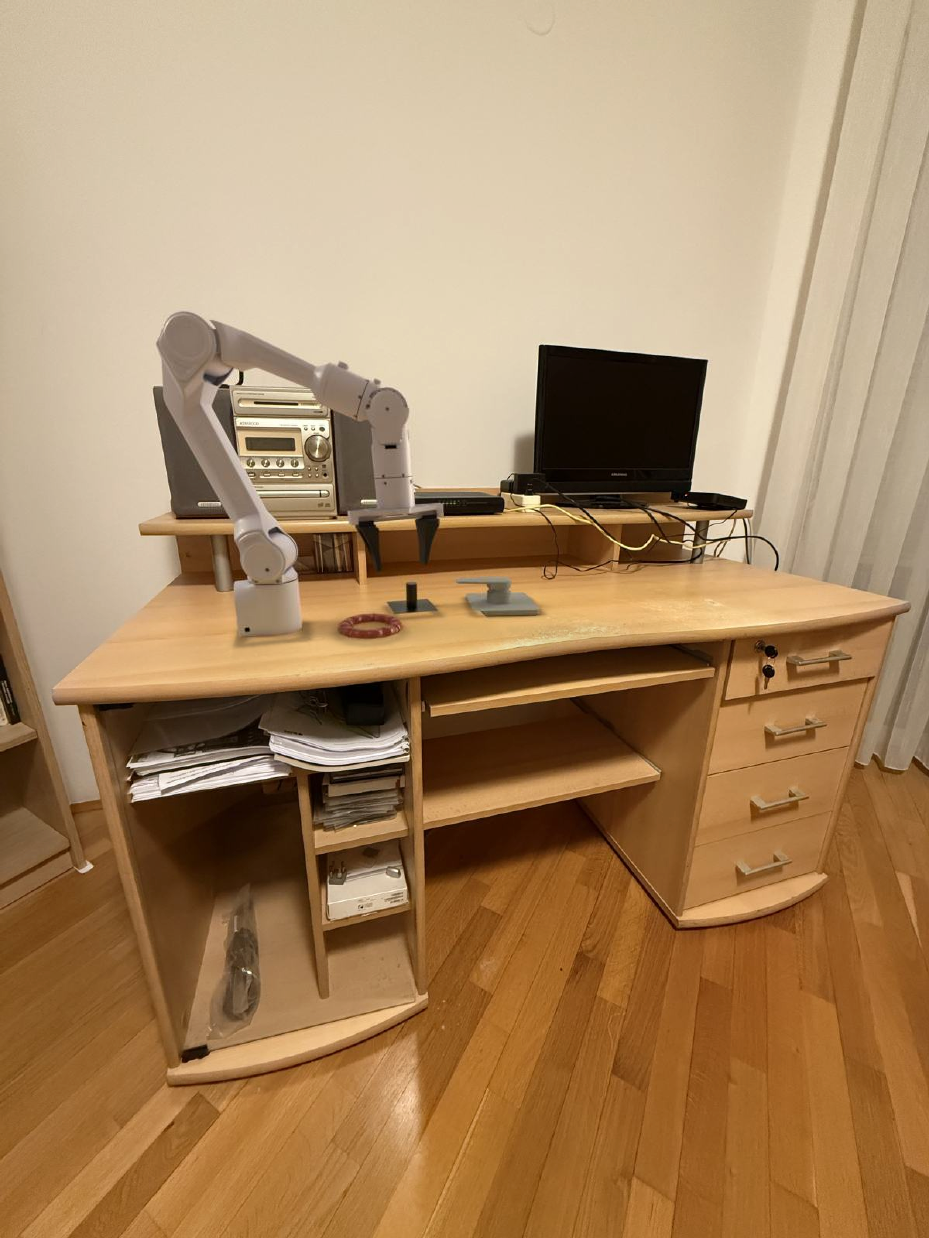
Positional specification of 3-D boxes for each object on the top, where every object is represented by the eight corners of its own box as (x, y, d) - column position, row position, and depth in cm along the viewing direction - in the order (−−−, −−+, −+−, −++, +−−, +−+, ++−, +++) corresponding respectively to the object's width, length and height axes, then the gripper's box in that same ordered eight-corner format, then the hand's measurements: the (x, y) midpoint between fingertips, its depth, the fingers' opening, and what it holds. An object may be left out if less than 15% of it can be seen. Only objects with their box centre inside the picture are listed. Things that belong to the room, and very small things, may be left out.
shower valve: (452, 571, 98) (525, 570, 100) (452, 597, 100) (524, 596, 101) (459, 587, 86) (542, 585, 88) (459, 616, 88) (540, 614, 90)
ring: (342, 647, 73) (341, 634, 72) (336, 626, 82) (335, 614, 81) (408, 640, 76) (408, 628, 75) (395, 621, 85) (395, 610, 84)
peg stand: (394, 619, 86) (393, 590, 84) (386, 606, 93) (385, 579, 91) (438, 615, 88) (438, 587, 87) (427, 603, 95) (427, 577, 94)
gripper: (351, 481, 67) (362, 578, 71) (448, 474, 72) (453, 565, 76) (340, 479, 73) (351, 569, 77) (431, 474, 78) (437, 557, 83)
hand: (401, 566), depth 77 cm, fingers open, 7 cm apart
